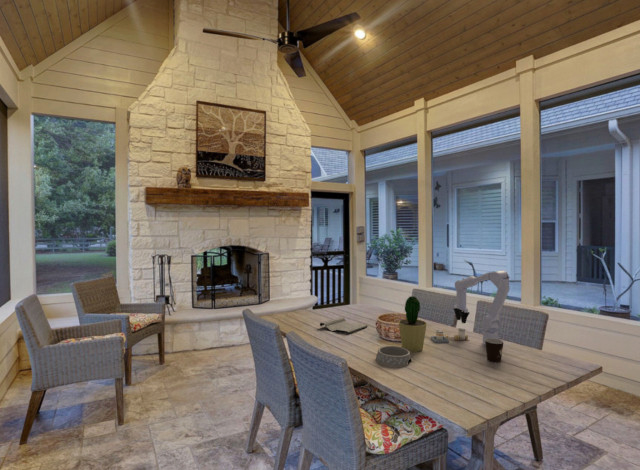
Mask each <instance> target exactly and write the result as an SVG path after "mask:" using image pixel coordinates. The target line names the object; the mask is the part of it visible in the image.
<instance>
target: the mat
mask: <svg viewBox="0 0 640 470" xmlns="http://www.w3.org/2000/svg"><path fill="white" fill-rule="evenodd" d="M319 326H320V327H324V326H325V328H326V329H328V330H329V331H331V332H336V331H340V332H347V333H348V334H351V333H353V332H356V331H360V330H361V329H365V328H367V327H369V326H368V325H367V324H365V323H358V322H357V323H350V322H349V321H347V320H346V319H345V317H343V316H342V317H340V316H339V317H337V318H333V319H330V320H325V321H324V322H320V323H319Z"/></svg>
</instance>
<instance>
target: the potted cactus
mask: <svg viewBox="0 0 640 470" xmlns="http://www.w3.org/2000/svg"><path fill="white" fill-rule="evenodd" d="M403 311H404V313H405V318H406V319H400V320H398V326H399V327H398V328H399V332H400V333H399V336H400V341H401V347H402V348H405V349H407V350H408V351H409V352H413V353H414V352H415V353H416V352H421V351H423V349H424V344H425V338H426V336H425V335H426V331H427V330H426V329H427V324H428V323H427V322H426V321H424V320H422V319H419V313H420V312H421V301H419V299H418V298H417V296H410V295H408V298H406V300H405V303H404V310H403Z"/></svg>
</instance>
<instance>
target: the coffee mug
mask: <svg viewBox="0 0 640 470" xmlns="http://www.w3.org/2000/svg"><path fill="white" fill-rule="evenodd" d="M485 343H486V345H485V351H486V353H485V354H486V360H487V361H488V362H490V363H495V362H496V363H498V362H499V363H501V362H502V355H503V349H504V343H505V342H504V340H502V339H499V340H498V339H485Z"/></svg>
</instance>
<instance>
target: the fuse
mask: <svg viewBox="0 0 640 470" xmlns="http://www.w3.org/2000/svg"><path fill="white" fill-rule="evenodd" d="M457 329H458V331H457V333H458V334H457V335H458V336H459V340H465V335H466V328H463V327H462V328H461V327H459V328H457Z"/></svg>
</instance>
